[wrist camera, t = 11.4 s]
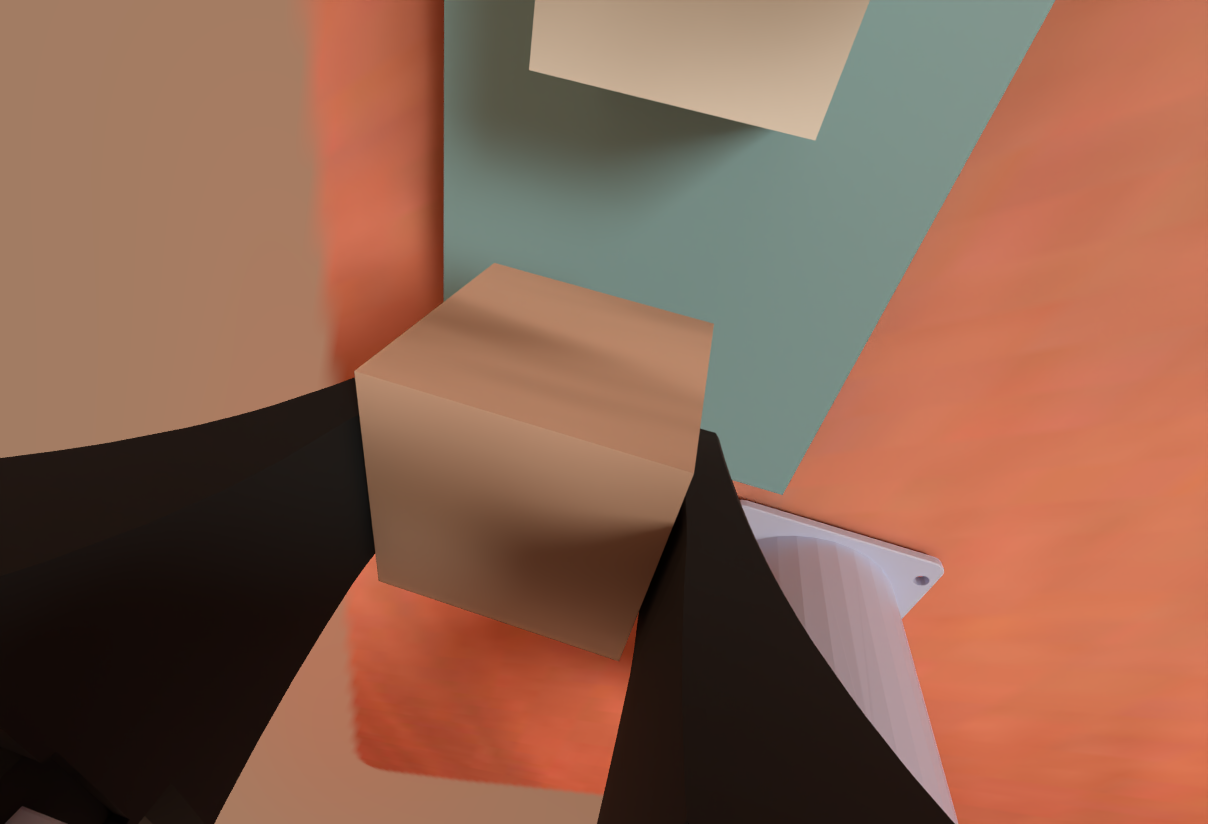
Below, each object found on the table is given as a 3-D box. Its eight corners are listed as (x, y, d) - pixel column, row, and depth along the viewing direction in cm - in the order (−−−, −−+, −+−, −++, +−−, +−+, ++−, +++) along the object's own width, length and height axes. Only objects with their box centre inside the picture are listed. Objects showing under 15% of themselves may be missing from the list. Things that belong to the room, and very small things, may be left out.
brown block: (656, 488, 13) (619, 661, 9) (483, 435, 13) (378, 580, 9) (714, 324, 10) (694, 473, 6) (494, 262, 10) (354, 370, 7)
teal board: (779, 461, 18) (782, 494, 17) (466, 369, 19) (443, 393, 18) (1125, -206, 9) (1198, -259, 8) (488, -318, 10) (445, -384, 9)
